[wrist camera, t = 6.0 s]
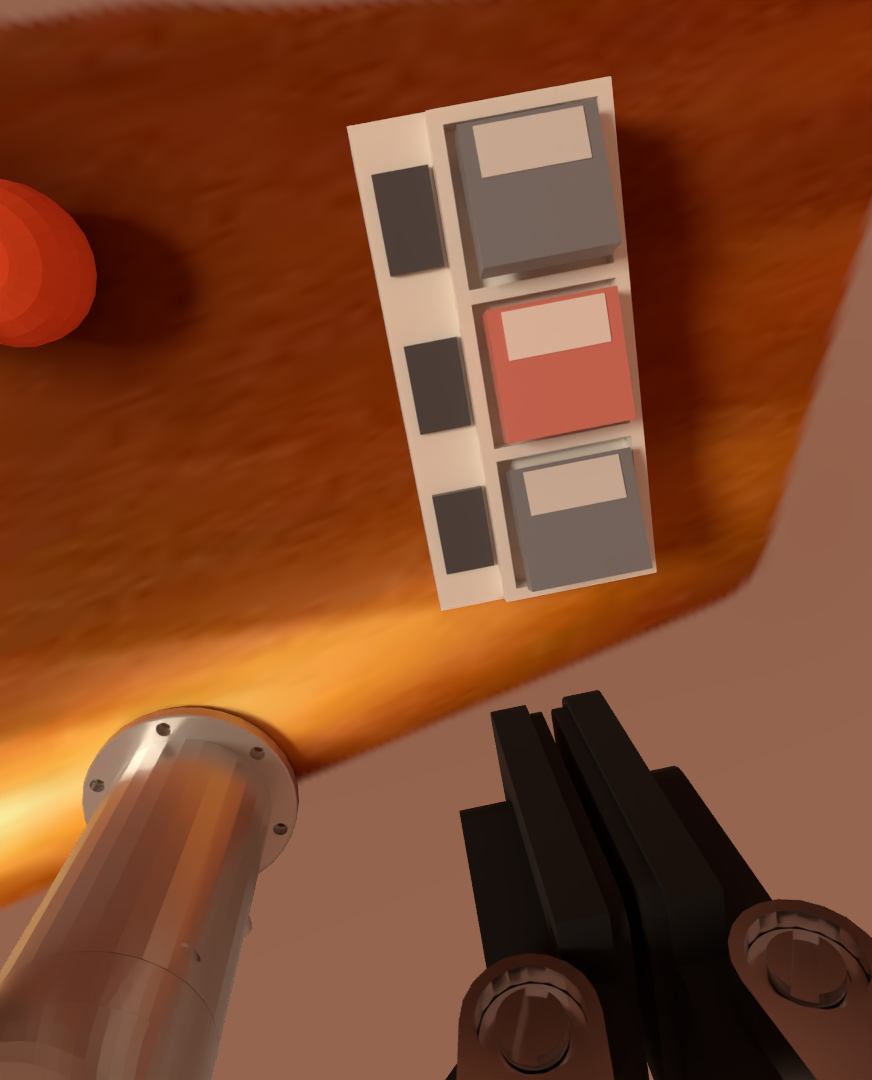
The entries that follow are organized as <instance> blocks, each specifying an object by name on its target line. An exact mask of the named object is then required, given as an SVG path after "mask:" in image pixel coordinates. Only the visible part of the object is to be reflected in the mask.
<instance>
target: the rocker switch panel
mask: <svg viewBox="0 0 872 1080" xmlns="http://www.w3.org/2000/svg"><path fill="white" fill-rule="evenodd" d="M592 99H597V104H598V110H599V115H600V121H601V127H602V132H603V138H604V144H605V149H606V155H607V161H608V166H609V172H610V178H611V183H612V189H613V195H614V201H615V206H616V212H617V218H618V223H619V229H620V235H621V240H622V242H621V244H620V245H619V246H618V247H617V249H616V250H615V251H614V253H613V254H612V255H607V256H601V257H596V258H591V259H586V260H580V261H575V262H570V263H565V264H559V265H554V266H549V267H544V268H538V269H533V270H528V271H523V272H517V273H512V274H507V275H502V276H496V277H491V278H486V279H481V280H480V276H479V270H478V265H477V260H476V254H475V249H474V244H473V238H472V233H471V228H470V223H469V217H468V212H467V207H466V201H465V196H464V191H463V185H462V180H461V175H460V169H459V164H458V159H457V153H456V148H455V134H456V125H457V124H463V123H468V122H473V121H479V120H484V119H490V118H495V117H500V116H506V115H511V114H516V113H522V112H527V111H533V110H538V109H543V108H549V107H554V106H559V105H565V104H570V103H576V102H581V101H586V100H592ZM347 130H348V136H349V142H350V147H351V153H352V159H353V164H354V169H355V174H356V179H357V184H358V189H359V195H360V200H361V205H362V210H363V215H364V220H365V225H366V230H367V236H368V241H369V246H370V251H371V256H372V261H373V266H374V271H375V276H376V282H377V287H378V292H379V297H380V302H381V307H382V312H383V317H384V323H385V328H386V333H387V338H388V343H389V348H390V353H391V358H392V363H393V369H394V374H395V379H396V384H397V389H398V394H399V399H400V404H401V410H402V415H403V420H404V425H405V430H406V435H407V440H408V445H409V450H410V456H411V461H412V466H413V471H414V476H415V481H416V486H417V491H418V497H419V502H420V507H421V512H422V517H423V522H424V527H425V532H426V537H427V543H428V548H429V553H430V558H431V563H432V568H433V573H434V578H435V583H436V588H437V592H438V597H439V602H440V606H441V611H443V610H448V609H453V608H459V607H464V606H469V605H474V604H479V603H484V602H489V601H494V600H499V599H505V601H506V602H510V601H515V600H521V599H526V598H531V597H536V596H541V595H546V594H551V593H556V592H561V591H566V590H571V589H576V588H581V587H586V586H591V585H596V584H601V583H606V582H611V581H616V580H621V579H626V578H631V577H636V576H641V575H646V574H651V573H656V572H657V570H656V559H655V548H654V538H653V527H652V516H651V505H650V494H649V483H648V472H647V462H646V451H645V440H644V429H643V418H642V407H641V396H640V386H639V375H638V364H637V353H636V342H635V331H634V320H633V310H632V299H631V288H630V277H629V266H628V255H627V244H626V233H625V223H624V212H623V201H622V190H621V179H620V168H619V157H618V147H617V136H616V125H615V114H614V103H613V92H612V81H611V76H610V77H604V78H599V79H593V80H588V81H583V82H577V83H572V84H566V85H561V86H556V87H550V88H545V89H540V90H534V91H529V92H523V93H518V94H513V95H507V96H502V97H496V98H491V99H486V100H480V101H475V102H470V103H464V104H459V105H453V106H448V107H443V108H437V109H432V110H426V111H425V112H423V113H417V114H412V115H406V116H401V117H396V118H390V119H385V120H380V121H374V122H369V123H363V124H358V125H353V126H347ZM611 286H618V293H619V300H620V307H621V315H622V322H623V329H624V336H625V343H626V350H627V357H628V365H629V372H630V379H631V386H632V393H633V400H634V407H635V414H636V419H633V420H628V421H623V422H618V423H613V424H608V425H603V426H598V427H592V428H587V429H582V430H577V431H572V432H567V433H562V434H557V435H551V436H546V437H541V438H536V439H531V440H526V441H521V442H515V443H510V444H507V443H504V439H503V433H502V427H501V422H500V416H499V410H498V404H497V398H496V393H495V387H494V381H493V375H492V369H491V364H490V358H489V352H488V346H487V341H486V335H485V329H484V323H483V317H482V315H483V314H484V313H485V311H486V310H491V309H496V308H502V307H507V306H512V305H517V304H522V303H528V302H533V301H538V300H543V299H549V298H554V297H559V296H564V295H569V294H575V293H580V292H585V291H590V290H596V289H601V288H606V287H611ZM628 447H630V449H631V454H632V460H633V465H634V470H635V475H636V481H637V486H638V491H639V497H640V502H641V507H642V512H643V518H644V523H645V528H646V534H647V539H648V544H649V549H650V555H651V560H652V565H653V568H651V569H646V570H641V571H636V572H631V573H626V574H621V575H616V576H611V577H606V578H601V579H596V580H591V581H586V582H581V583H576V584H571V585H566V586H561V587H556V588H551V589H546V590H541V591H536V592H532V591H530V590H528V587H527V582H526V577H525V572H524V566H523V561H522V556H521V551H520V546H519V541H518V536H517V530H516V525H515V520H514V515H513V510H512V505H511V499H510V494H509V489H508V484H507V479H506V474H505V473H506V472H508V471H510V470H516V469H521V468H526V467H531V466H536V465H541V464H546V463H551V462H556V461H562V460H567V459H572V458H577V457H582V456H587V455H592V454H597V453H602V452H607V451H613V450H618V449H623V448H628Z"/></svg>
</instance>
